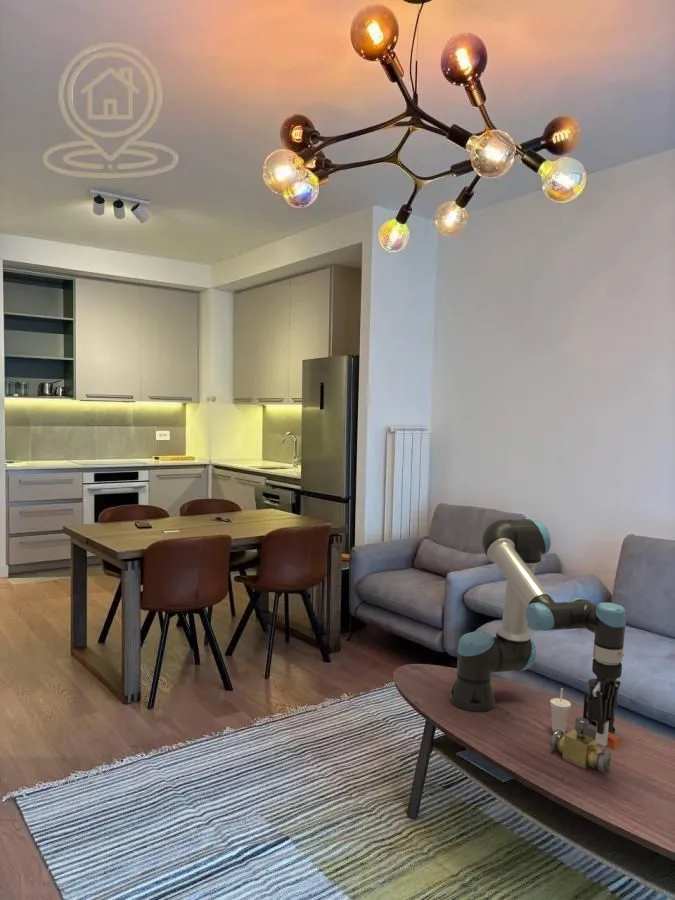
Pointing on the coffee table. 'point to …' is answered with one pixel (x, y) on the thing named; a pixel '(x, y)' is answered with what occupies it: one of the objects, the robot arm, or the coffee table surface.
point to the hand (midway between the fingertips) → (601, 743)
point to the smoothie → (560, 712)
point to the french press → (588, 709)
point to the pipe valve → (580, 750)
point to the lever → (590, 730)
